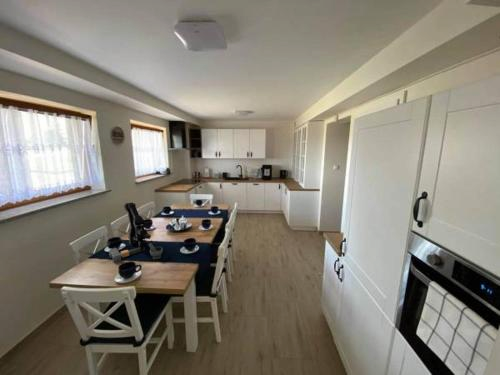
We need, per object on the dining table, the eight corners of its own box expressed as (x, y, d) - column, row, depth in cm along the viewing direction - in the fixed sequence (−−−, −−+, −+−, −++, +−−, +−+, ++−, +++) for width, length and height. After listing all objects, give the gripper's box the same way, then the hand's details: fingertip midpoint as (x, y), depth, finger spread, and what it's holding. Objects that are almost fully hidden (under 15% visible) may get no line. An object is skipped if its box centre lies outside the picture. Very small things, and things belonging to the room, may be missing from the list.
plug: (143, 249, 186) (143, 245, 186) (145, 250, 183) (144, 247, 182) (119, 256, 173) (118, 252, 173) (120, 258, 170) (120, 254, 170)
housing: (116, 253, 177) (116, 247, 176) (121, 261, 166) (120, 254, 165) (109, 255, 174) (108, 249, 173) (113, 263, 162) (113, 256, 161)
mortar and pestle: (165, 254, 177) (164, 241, 174) (159, 260, 167) (158, 246, 165) (152, 254, 178) (151, 240, 175) (146, 259, 168) (145, 245, 166)
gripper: (153, 233, 179) (154, 250, 182) (146, 227, 192) (147, 243, 195) (139, 236, 171) (140, 254, 174) (132, 230, 185) (134, 246, 187)
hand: (141, 249), depth 183 cm, fingers open, 8 cm apart
